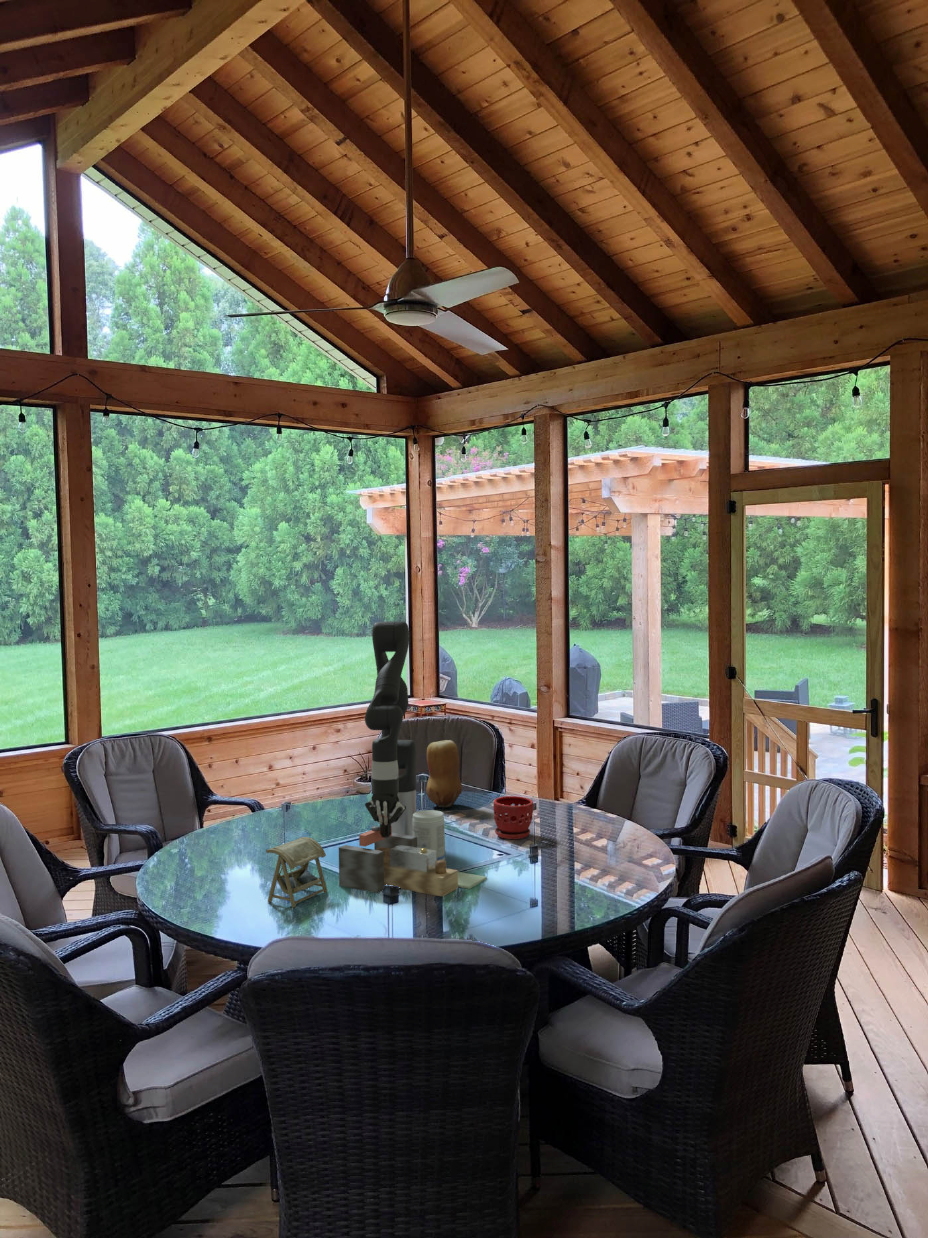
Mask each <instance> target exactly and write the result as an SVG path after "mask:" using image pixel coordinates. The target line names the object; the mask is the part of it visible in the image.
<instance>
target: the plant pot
mask: <svg viewBox="0 0 928 1238" xmlns="http://www.w3.org/2000/svg"><path fill="white" fill-rule="evenodd" d="M492 808H493V820H494V823H495V825H496V827H495V829H494V832H495V834H496V836H498V837H499V838H502V839H507V840H520V839H524V838H527V837H528V836H529V835H530V834H531V830H530V829H529V828H530V826H531V824H532V821H533V815H534V814H533V813H534V801H533V800H532V799H530V798H529V797H528V798H527V797H523V796H516V795H514V796H512V795H510V796H509V795H506V796H500V797H497V798H495V799H493V807H492Z"/></svg>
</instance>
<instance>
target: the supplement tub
mask: <svg viewBox="0 0 928 1238" xmlns="http://www.w3.org/2000/svg"><path fill="white" fill-rule="evenodd" d="M445 831H446V829H445V814H444V812H443V811H440V810H434V809H432V810H431V809H429V810H427V809H426V810H424V809H423V810H418V811H416V812H415V813H414V814H413V836H417V848H427V849H429V850H436V861H437V860H445V861H446V839H445V837H446V836H445V835H446V834H445V833H446V832H445Z"/></svg>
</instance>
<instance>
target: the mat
mask: <svg viewBox="0 0 928 1238" xmlns="http://www.w3.org/2000/svg"><path fill="white" fill-rule="evenodd" d="M487 878H488V877H487V876H484V875H478V874H473V873H467V872H461V871H458V888H463V889H469V890H470V889H471V888H474V887H475V886H477V885H479V884H480V883H482V882H484V881H486V880H487Z"/></svg>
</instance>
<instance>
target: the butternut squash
mask: <svg viewBox="0 0 928 1238" xmlns="http://www.w3.org/2000/svg"><path fill="white" fill-rule="evenodd" d="M426 762H427V767H428V771H429V772H428V773H429V777H428V780H427V783H426V795H427V797H428V799H429V801H431V803H433V804H435V805H436V806H437V807H438V808H451V807H452V806H454V804H455V803H456V801H457V800H458V799H459V796H460V795H461V794H462V791H463V790H462V789H463V784H462V781H461V779H460V772H459V770H460V765H461V764H460V755H459V750H458V746H457V744H456V743H455V742H454V740H451V739H449V740H448V739H444V740H439V741H433V742H430V743H429V744H428V746H427V748H426Z"/></svg>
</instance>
